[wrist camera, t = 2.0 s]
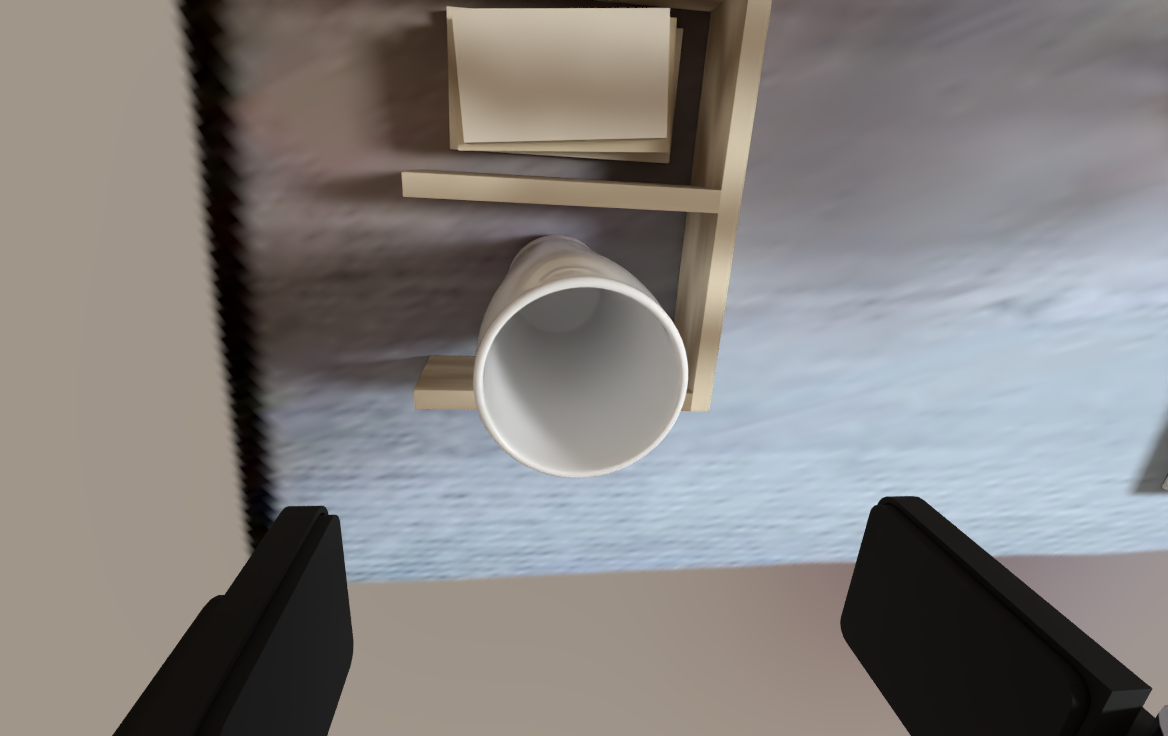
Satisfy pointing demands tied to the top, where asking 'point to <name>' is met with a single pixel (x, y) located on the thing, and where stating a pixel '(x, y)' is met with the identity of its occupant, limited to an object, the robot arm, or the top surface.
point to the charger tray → (1165, 484)
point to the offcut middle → (569, 146)
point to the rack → (649, 200)
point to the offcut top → (562, 73)
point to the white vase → (576, 363)
